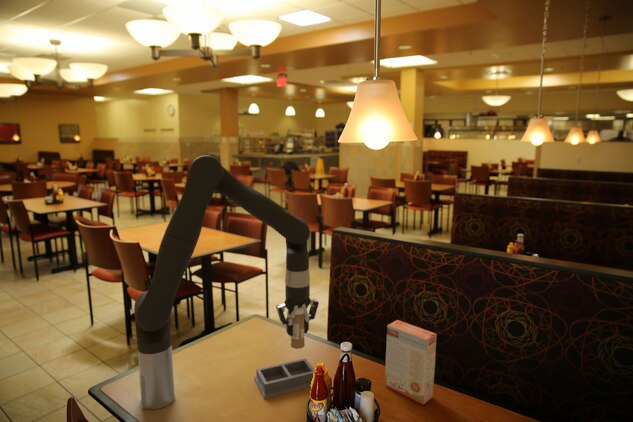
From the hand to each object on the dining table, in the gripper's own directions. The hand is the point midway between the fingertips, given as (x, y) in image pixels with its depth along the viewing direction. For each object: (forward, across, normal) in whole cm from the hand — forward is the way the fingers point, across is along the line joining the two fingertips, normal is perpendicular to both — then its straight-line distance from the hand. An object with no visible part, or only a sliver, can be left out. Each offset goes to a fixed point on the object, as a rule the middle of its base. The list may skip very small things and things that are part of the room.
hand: (297, 333), depth 133 cm
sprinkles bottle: (+4, 0, 0) cm, 4 cm away
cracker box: (+16, +29, -20) cm, 39 cm away
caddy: (+16, -4, 0) cm, 16 cm away
